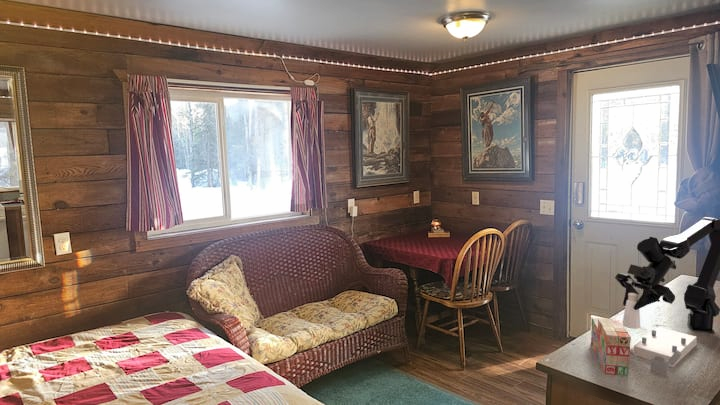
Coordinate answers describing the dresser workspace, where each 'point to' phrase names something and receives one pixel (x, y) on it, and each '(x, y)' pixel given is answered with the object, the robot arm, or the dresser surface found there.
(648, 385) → the dresser surface
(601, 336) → the stack of blocks
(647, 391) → the dresser surface
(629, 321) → the pepper shaker
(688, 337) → the cream board with pegs
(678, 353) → the lighter
